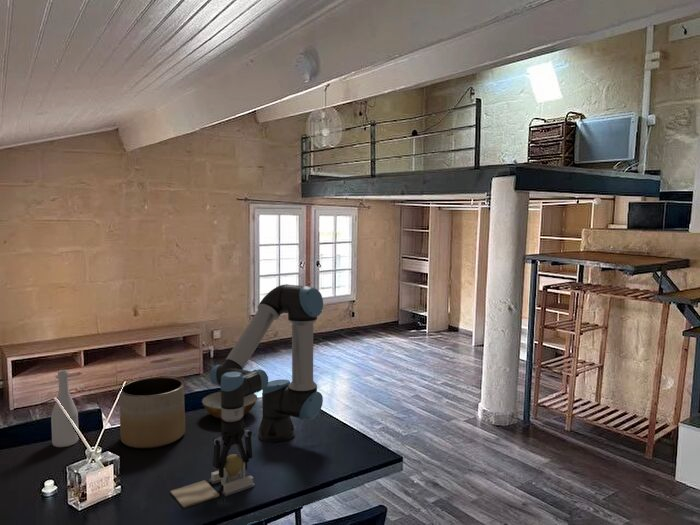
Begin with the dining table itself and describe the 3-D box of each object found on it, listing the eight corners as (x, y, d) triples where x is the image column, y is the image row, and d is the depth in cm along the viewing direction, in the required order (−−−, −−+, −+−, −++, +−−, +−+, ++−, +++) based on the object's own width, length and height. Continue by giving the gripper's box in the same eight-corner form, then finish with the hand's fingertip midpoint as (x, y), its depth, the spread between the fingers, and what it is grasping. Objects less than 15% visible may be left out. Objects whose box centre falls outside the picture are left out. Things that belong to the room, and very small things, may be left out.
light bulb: (226, 489, 178) (226, 461, 177) (221, 480, 184) (221, 453, 183) (244, 485, 181) (244, 457, 180) (239, 476, 187) (239, 449, 186)
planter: (198, 432, 225) (197, 382, 223) (151, 456, 202) (149, 400, 200) (155, 421, 236) (154, 373, 234) (106, 442, 214) (104, 389, 212)
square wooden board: (170, 492, 176) (170, 490, 176) (204, 481, 183) (204, 479, 183) (183, 508, 166) (183, 506, 166) (219, 496, 174) (219, 494, 174)
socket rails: (209, 480, 184) (209, 472, 183) (237, 471, 190) (237, 463, 190) (225, 496, 174) (225, 487, 173) (254, 486, 180) (254, 477, 180)
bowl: (268, 415, 244) (268, 398, 244) (221, 431, 226) (221, 413, 225) (237, 402, 262) (237, 386, 261) (191, 415, 243) (191, 398, 243)
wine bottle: (46, 445, 211) (43, 372, 208) (67, 436, 219) (64, 366, 217) (63, 449, 207) (60, 375, 204) (84, 440, 216) (81, 368, 213)
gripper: (210, 428, 171) (211, 495, 173) (262, 414, 183) (263, 478, 185) (201, 421, 177) (202, 486, 179) (252, 408, 189) (253, 470, 191)
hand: (233, 482), depth 182 cm, fingers closed on light bulb, 6 cm apart
